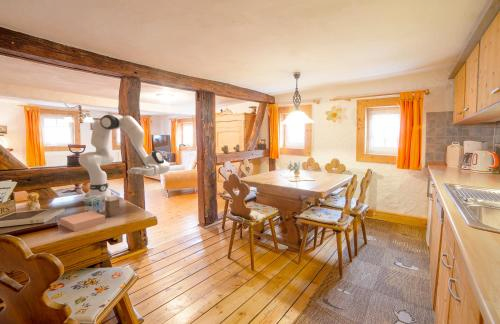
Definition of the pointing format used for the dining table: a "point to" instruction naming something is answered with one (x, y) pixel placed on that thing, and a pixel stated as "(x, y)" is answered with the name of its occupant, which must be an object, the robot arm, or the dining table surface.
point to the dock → (82, 220)
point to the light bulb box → (95, 203)
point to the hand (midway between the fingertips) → (131, 172)
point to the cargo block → (111, 198)
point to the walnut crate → (112, 208)
